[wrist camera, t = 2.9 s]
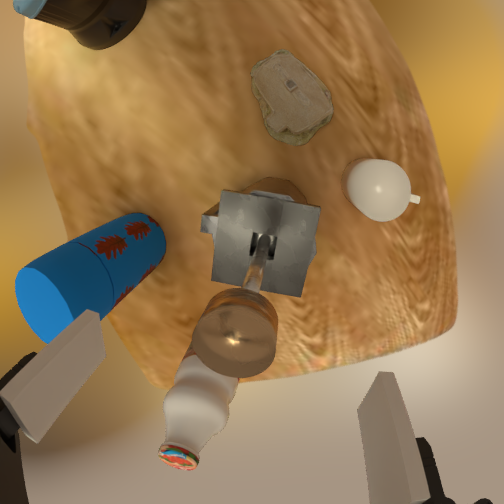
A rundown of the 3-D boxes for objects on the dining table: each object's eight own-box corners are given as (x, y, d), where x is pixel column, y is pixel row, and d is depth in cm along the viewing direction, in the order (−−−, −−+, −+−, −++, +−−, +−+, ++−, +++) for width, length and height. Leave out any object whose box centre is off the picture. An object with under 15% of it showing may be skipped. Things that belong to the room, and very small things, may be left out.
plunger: (233, 195, 29) (155, 256, 12) (309, 208, 28) (337, 291, 11) (224, 265, 31) (159, 381, 15) (295, 278, 31) (294, 410, 14)
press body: (230, 171, 42) (194, 182, 26) (313, 185, 41) (328, 205, 25) (222, 233, 45) (186, 278, 29) (301, 248, 44) (305, 302, 29)
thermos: (178, 238, 47) (88, 317, 23) (149, 281, 50) (68, 366, 27) (131, 199, 45) (20, 245, 22) (106, 244, 49) (10, 306, 26)
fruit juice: (240, 308, 49) (196, 443, 23) (255, 349, 52) (227, 481, 26) (192, 316, 51) (125, 435, 25) (209, 355, 54) (162, 474, 28)
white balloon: (346, 153, 39) (360, 153, 30) (405, 169, 38) (430, 174, 30) (336, 202, 41) (348, 214, 33) (395, 215, 41) (417, 230, 32)
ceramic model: (347, 119, 37) (364, 110, 28) (284, 156, 40) (283, 157, 31) (294, 46, 34) (294, 18, 25) (232, 82, 37) (215, 63, 28)
